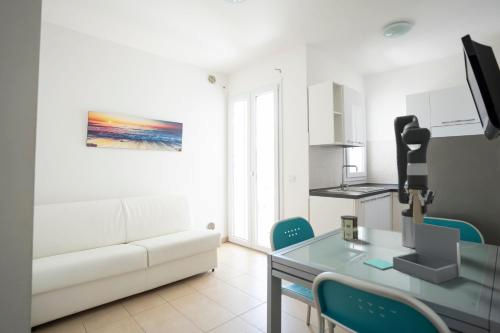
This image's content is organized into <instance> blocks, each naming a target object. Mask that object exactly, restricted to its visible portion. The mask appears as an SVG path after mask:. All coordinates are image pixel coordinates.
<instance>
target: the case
mask: <svg viewBox="0 0 500 333" xmlns="http://www.w3.org/2000/svg"><path fill="white" fill-rule="evenodd" d="M460 230H461V229H459V228H454V227H449V226H448V227H447V226H441V225H434V224H429V223H424V222H423V225H417V224H415V248H414V250H415V251H414V252H410V253H406V254H402V255H398V256H397V255H396V256H393V257H392V263H393V267H392V268H393V269H394V270H396V271H399V272H401V273H405V274H408V275H410V276H413V277H416V278H419V279H422V280H424V281H427V282H430V283H433V284H441V283H443V282H446V281H449V280H452V279H455V278H459V279H460V278H461V262H462V259H461V258H462V257H461V256H462V255H461V254H462V253H461V231H460Z"/></svg>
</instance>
